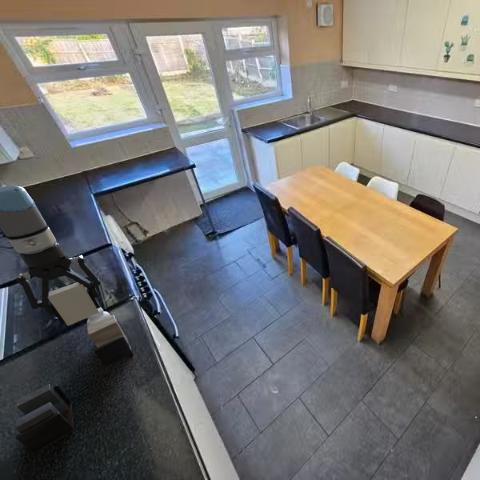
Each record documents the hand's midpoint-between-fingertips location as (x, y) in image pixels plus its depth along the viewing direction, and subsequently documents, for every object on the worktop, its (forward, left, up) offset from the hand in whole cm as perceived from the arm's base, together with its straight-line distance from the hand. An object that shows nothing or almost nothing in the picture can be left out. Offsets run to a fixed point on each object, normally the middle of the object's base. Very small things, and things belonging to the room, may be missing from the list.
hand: (81, 312), depth 80 cm
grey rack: (+13, -15, -23) cm, 30 cm away
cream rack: (-4, +2, -23) cm, 23 cm away
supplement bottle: (-14, +1, -23) cm, 27 cm away
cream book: (0, 0, -2) cm, 2 cm away
